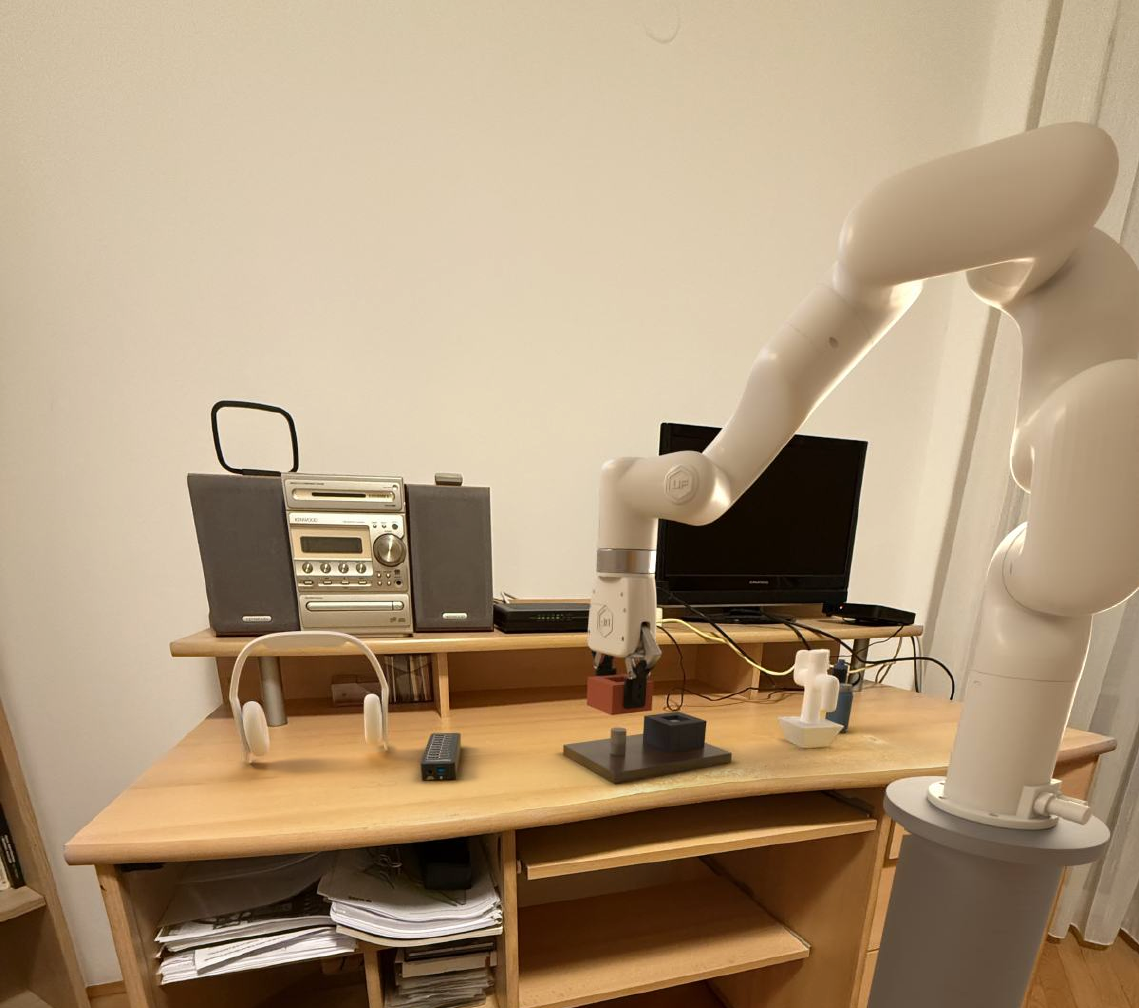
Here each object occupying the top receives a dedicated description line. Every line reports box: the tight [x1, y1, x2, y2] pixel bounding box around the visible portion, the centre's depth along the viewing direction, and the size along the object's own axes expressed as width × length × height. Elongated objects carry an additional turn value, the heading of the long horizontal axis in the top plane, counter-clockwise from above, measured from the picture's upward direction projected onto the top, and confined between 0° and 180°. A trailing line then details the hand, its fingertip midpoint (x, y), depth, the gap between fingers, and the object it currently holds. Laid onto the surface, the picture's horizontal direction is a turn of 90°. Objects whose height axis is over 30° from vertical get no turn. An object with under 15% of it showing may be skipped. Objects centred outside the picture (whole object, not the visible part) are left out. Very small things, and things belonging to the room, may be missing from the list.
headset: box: [228, 630, 390, 764], centre depth 82 cm, size 20×7×18 cm, turn 110°
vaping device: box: [824, 658, 854, 734], centre depth 103 cm, size 3×5×12 cm, turn 4°
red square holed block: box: [586, 673, 655, 716], centre depth 82 cm, size 6×6×4 cm
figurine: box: [776, 648, 844, 749], centre depth 94 cm, size 7×9×15 cm
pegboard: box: [562, 720, 733, 785], centre depth 87 cm, size 14×20×5 cm
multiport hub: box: [420, 732, 462, 782], centre depth 84 cm, size 4×14×2 cm, turn 7°
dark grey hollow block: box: [642, 711, 707, 753], centre depth 89 cm, size 6×6×4 cm
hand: (619, 700), depth 83 cm, fingers closed on red square holed block, 6 cm apart
